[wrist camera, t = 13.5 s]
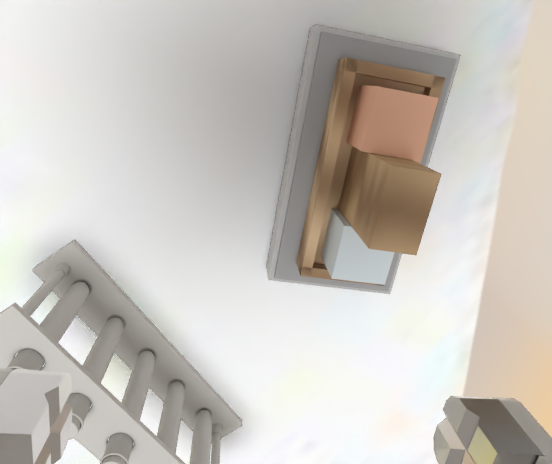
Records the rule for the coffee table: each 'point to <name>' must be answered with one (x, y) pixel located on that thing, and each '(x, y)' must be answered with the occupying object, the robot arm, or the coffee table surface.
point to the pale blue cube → (352, 254)
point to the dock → (310, 126)
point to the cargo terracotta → (391, 122)
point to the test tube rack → (111, 339)
